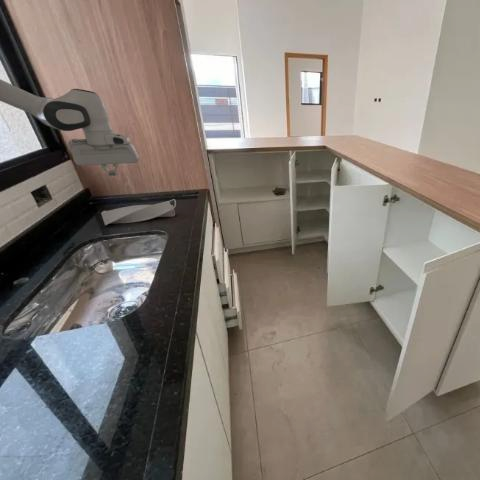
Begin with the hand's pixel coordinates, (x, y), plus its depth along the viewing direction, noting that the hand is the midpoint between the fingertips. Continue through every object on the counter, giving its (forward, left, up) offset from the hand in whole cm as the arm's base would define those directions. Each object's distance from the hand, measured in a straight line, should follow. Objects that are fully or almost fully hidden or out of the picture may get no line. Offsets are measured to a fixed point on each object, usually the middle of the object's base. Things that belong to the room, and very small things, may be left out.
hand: (113, 175), depth 106 cm
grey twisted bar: (-8, +1, -18) cm, 20 cm away
